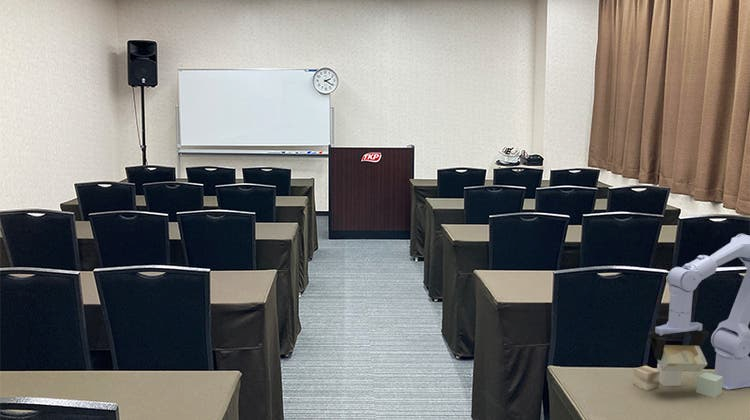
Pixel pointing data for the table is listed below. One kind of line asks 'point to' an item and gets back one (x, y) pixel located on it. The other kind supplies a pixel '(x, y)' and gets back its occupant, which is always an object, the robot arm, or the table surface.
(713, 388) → the cube sage
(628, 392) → the table surface
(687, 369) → the skincare box
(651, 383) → the cube beech
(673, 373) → the cube cream
